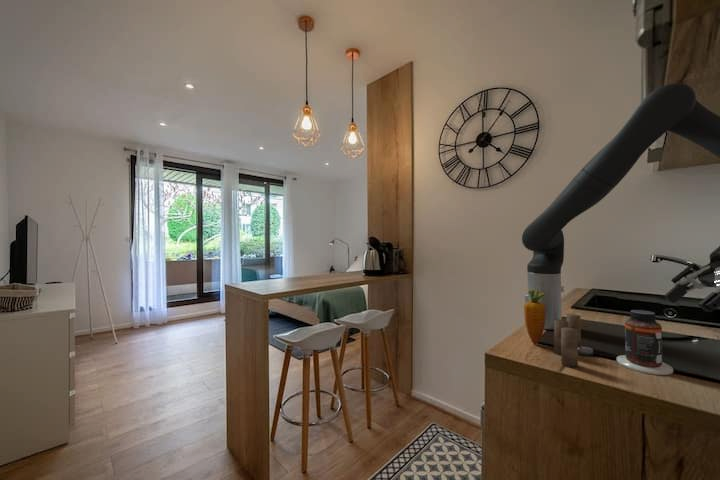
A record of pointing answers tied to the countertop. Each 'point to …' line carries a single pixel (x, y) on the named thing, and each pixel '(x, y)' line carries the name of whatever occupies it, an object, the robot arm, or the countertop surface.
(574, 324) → the post
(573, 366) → the post
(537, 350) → the countertop surface
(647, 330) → the supplement bottle
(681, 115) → the robot arm
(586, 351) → the nut
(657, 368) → the coaster
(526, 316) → the carrot
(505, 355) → the countertop surface
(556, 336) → the post
